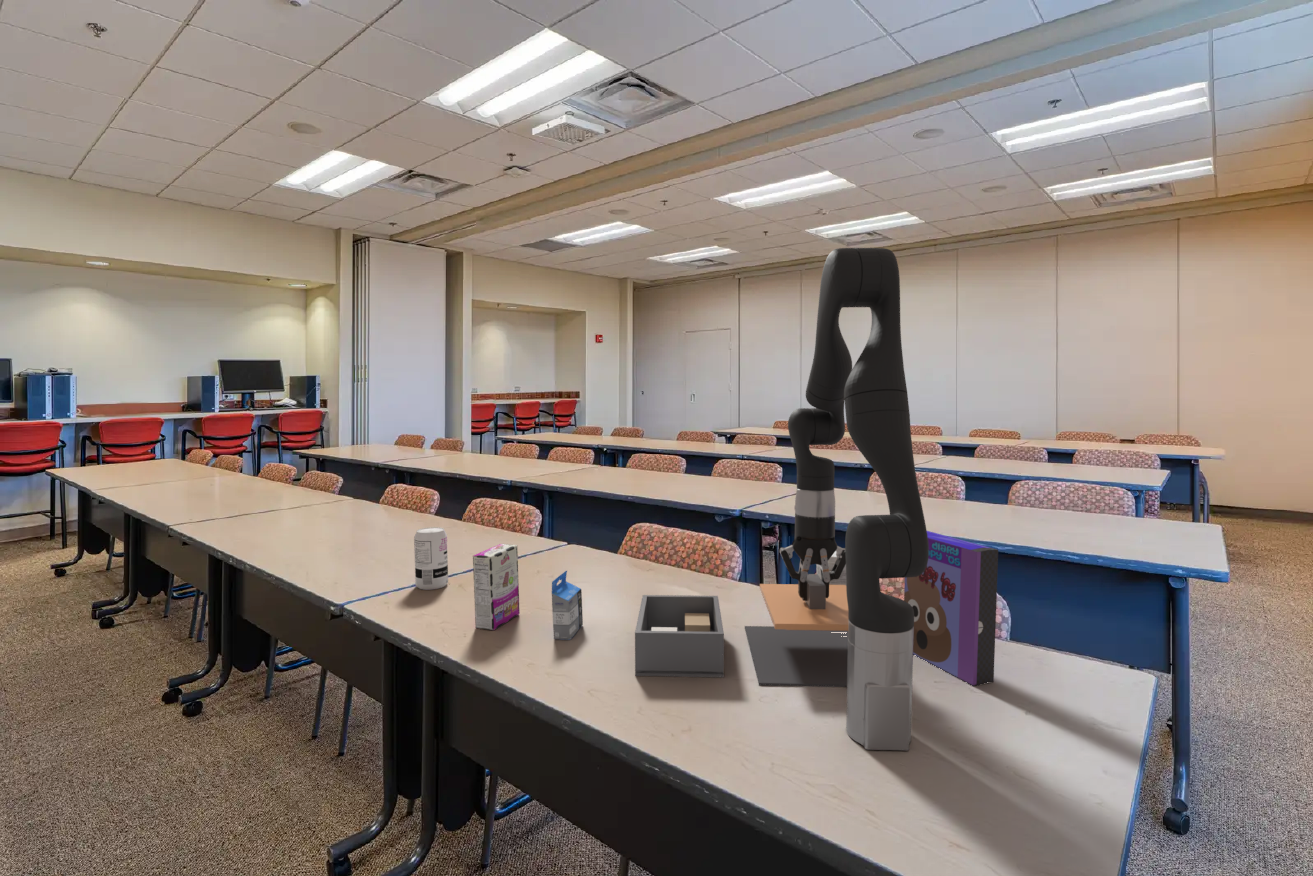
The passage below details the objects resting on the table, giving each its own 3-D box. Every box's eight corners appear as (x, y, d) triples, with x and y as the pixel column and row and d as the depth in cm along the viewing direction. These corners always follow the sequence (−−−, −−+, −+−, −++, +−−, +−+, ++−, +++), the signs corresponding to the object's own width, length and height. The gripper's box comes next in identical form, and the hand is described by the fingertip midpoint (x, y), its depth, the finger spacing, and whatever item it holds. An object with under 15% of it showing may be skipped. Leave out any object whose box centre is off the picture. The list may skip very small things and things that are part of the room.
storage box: (717, 632, 141) (717, 595, 140) (723, 677, 119) (723, 633, 118) (642, 631, 142) (642, 595, 141) (635, 675, 120) (634, 632, 119)
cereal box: (902, 649, 131) (905, 530, 130) (921, 646, 133) (925, 529, 131) (972, 686, 115) (977, 551, 113) (993, 682, 117) (998, 548, 115)
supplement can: (414, 583, 177) (412, 528, 176) (446, 580, 180) (444, 525, 179) (417, 592, 170) (415, 534, 168) (450, 588, 173) (448, 531, 172)
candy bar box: (501, 612, 154) (500, 543, 153) (520, 614, 152) (519, 544, 151) (473, 628, 144) (471, 554, 142) (493, 631, 142) (491, 556, 141)
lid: (845, 594, 140) (845, 564, 140) (877, 636, 116) (878, 600, 116) (759, 593, 141) (760, 563, 140) (775, 634, 117) (775, 598, 117)
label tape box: (570, 640, 137) (569, 582, 136) (551, 639, 137) (550, 581, 136) (583, 625, 145) (582, 571, 144) (565, 624, 146) (565, 570, 145)
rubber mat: (897, 687, 115) (897, 685, 115) (759, 685, 116) (759, 683, 116) (856, 629, 143) (856, 627, 143) (744, 627, 144) (744, 626, 144)
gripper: (781, 515, 124) (779, 605, 125) (856, 515, 123) (855, 606, 124) (775, 508, 131) (774, 593, 132) (847, 508, 130) (845, 594, 132)
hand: (813, 599), depth 128 cm, fingers closed on lid, 3 cm apart
